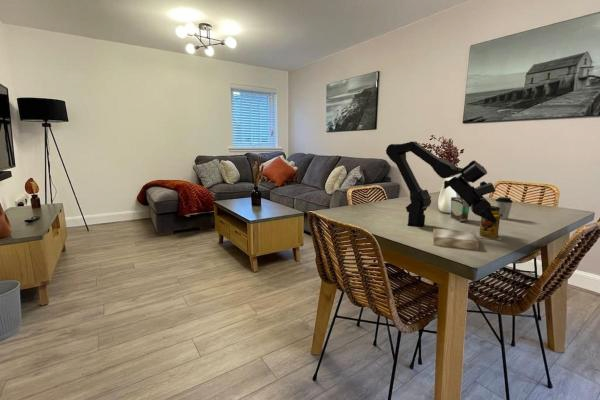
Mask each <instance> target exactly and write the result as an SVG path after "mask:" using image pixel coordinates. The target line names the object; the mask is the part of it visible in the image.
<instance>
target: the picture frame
mask: <svg viewBox="0 0 600 400" xmlns="http://www.w3.org/2000/svg"><path fill="white" fill-rule="evenodd" d="M432 240H433V242H432V244H433V246H434V245H435V246H440V245H441V247H449V248H459V249H467V250H477V251H479V244H480V242H479V240H478V238H477V236H476V234H475V232H473V231H466V230H465V231H464V230H455V229H443V228H433V231H432Z"/></svg>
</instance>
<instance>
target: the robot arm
mask: <svg viewBox="0 0 600 400" xmlns="http://www.w3.org/2000/svg"><path fill="white" fill-rule="evenodd" d="M410 152H411V153H413V154H414V155H415V156H417V157H418V158H419V159H420V160H422V161H423V162H425V163H426V164H428V165H429V166H430V167H431V168H432V169H433V172H435V173H436V175H438V177H440V178H441V179H449V178H450V179H449V180H444V182H443V184H444V185H443V189H444V190H446V189H447V188H449V187H450V188H451V189H452V190H453V191H454V192H455V193H456V194H457V196H458V197H459V198H461V199H463V200H464V201H465V202H466V203H467V204H468V206H469V207H470V211H471V212H472V213H473V214H474V215H475V216H478V217H480V218H481V217H483V218H485V219H487V220H490V221H492V222H494V223H495V222H497V220H496V218H495V217H494V215H493V214H492V212H491V211H490V207H491V206H492V205H491V203H490V202H489V201H488V200H487V199H486V198H485V197H484V196H485V195H488V194H493V193H495V192H496V191H497V190H496V188H495V186H494V184H493V183H492V182H488V183H487V182H486V181H481V182H480V183H479V185H478V186H477V187H474V186H473V185H471V184H470V183H473V184H474V183H475V182H477V181H478V180H480V179H481V178H483V177H484V176H486V175H487V174H488V171H487V169H486V168H485V167H484V166H483V165H481V164H480V163H478V162H477V161H476V160H471V161H470V162H469V163H468V164H467V165H466V166H465V167H463V168H462V167H459V166H457V165H456V164H455V163H452V162H450V161H448V160H445V159H443V158H439V157H438V156H437V155H436V154H434V153H433V152H432V151H429V150H428V149H427V148H425V146H422V145H421V144H419V143H418V142H417V141H408V142H405V143H404V142H403V143H391V144H389V145H388V146H387V147H386V149H385V154H386V156H387V157H388V158H389V160H390V161H392V162H393V163H394V164H395V165H396V166H397V169H398V171H399V173H400V175H401V177H402V179H403V181H404V182H405V183H404V184H405V185H406V187H407V188H408V191H409V200H410V203H409V204H408V205H407V206H406V207H405V210H406V213H408V216H407V217H408V218H407V220H408V221H407V226H410V227H411V226H412V227H424V225H425V222H426V214H425V211H426V210H427V208H428V207H430V206H431V204H432V199H431V198H432V196H431V195H430V194H429V191H428V189H422V188H421V186H420V184H419V182H418V181H417V179H416V177H415V175H414V172H413V170H412V168H411V166H410V165H409V163H408V162H409V161H407V153H410ZM457 175H458V176H457ZM456 176H457V177H456Z"/></svg>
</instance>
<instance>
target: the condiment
mask: <svg viewBox="0 0 600 400" xmlns="http://www.w3.org/2000/svg"><path fill="white" fill-rule="evenodd" d="M499 210H500V208H499V207H496V205H491V207H490V211H491V212H492V214H493V215H494V217H495V218H496V220H497V222H495V223H494V222H492V221H490V220H487V219H485V218H483V217H480V218H481V219H480V226H479V231H476V232H475V233H476V234H477V237H478V238H479V239H488V240H499V241H501V240H503V239H502V238H501V237H500V236H499V230H500V229H499V228H500V220H501V219H500V214H499Z"/></svg>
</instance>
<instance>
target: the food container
mask: <svg viewBox="0 0 600 400" xmlns="http://www.w3.org/2000/svg"><path fill="white" fill-rule="evenodd" d="M470 210H471V207H469V206H468V204H467V203H466V202H465V201H464V200H463V199H461V198H460V196H458V197H457V196H455V197H454V196H451V198H450V218H451V219H453V220H455V221H457V222H459V223H467V222H468V217H469V213H470Z"/></svg>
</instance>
